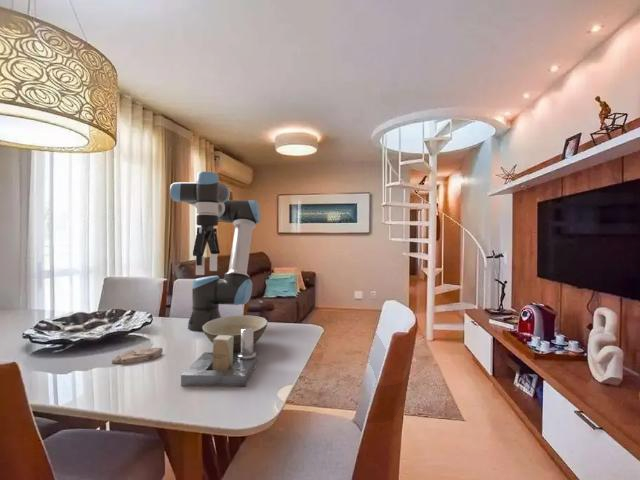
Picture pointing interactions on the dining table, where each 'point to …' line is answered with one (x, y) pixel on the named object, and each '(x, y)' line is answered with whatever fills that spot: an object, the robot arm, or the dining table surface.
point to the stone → (138, 355)
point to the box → (222, 353)
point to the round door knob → (246, 344)
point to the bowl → (235, 328)
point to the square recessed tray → (218, 372)
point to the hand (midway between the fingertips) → (207, 272)
